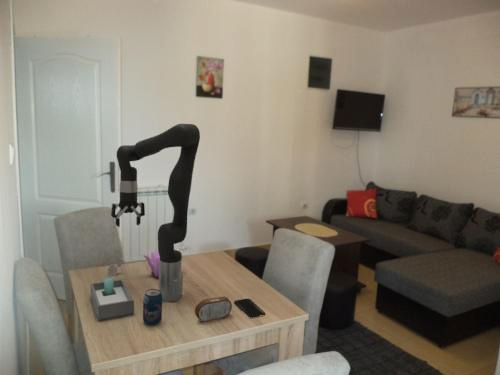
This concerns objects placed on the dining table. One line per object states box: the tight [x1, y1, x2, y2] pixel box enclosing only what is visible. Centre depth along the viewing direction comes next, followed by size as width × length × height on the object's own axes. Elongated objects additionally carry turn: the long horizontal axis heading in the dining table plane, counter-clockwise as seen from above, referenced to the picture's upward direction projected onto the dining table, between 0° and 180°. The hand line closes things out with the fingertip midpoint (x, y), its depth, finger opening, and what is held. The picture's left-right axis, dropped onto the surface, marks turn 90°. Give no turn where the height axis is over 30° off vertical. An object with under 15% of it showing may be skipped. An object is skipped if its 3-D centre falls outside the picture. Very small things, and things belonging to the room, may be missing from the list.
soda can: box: [142, 288, 163, 327], centre depth 142 cm, size 7×7×12 cm
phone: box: [233, 298, 266, 319], centre depth 158 cm, size 8×1×15 cm
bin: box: [90, 279, 135, 322], centre depth 153 cm, size 13×22×6 cm, turn 29°
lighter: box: [107, 257, 124, 277], centre depth 184 cm, size 7×2×8 cm, turn 120°
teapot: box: [142, 250, 160, 279], centre depth 187 cm, size 20×10×12 cm, turn 118°
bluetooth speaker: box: [194, 296, 233, 322], centre depth 148 cm, size 15×3×8 cm, turn 119°
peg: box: [103, 277, 114, 296], centre depth 158 cm, size 4×4×8 cm
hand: (128, 225), depth 170 cm, fingers open, 8 cm apart
